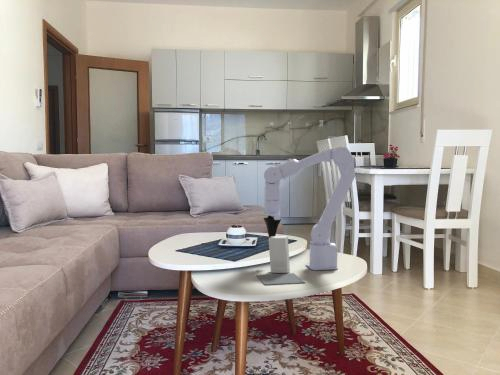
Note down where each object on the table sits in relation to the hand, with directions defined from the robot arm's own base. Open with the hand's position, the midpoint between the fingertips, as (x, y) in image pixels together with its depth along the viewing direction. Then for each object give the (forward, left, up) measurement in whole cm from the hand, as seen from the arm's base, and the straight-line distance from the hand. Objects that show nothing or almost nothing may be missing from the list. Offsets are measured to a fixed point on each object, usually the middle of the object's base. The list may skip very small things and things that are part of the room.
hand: (271, 236), depth 153 cm
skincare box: (0, +11, -10) cm, 15 cm away
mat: (+2, +20, -10) cm, 22 cm away
